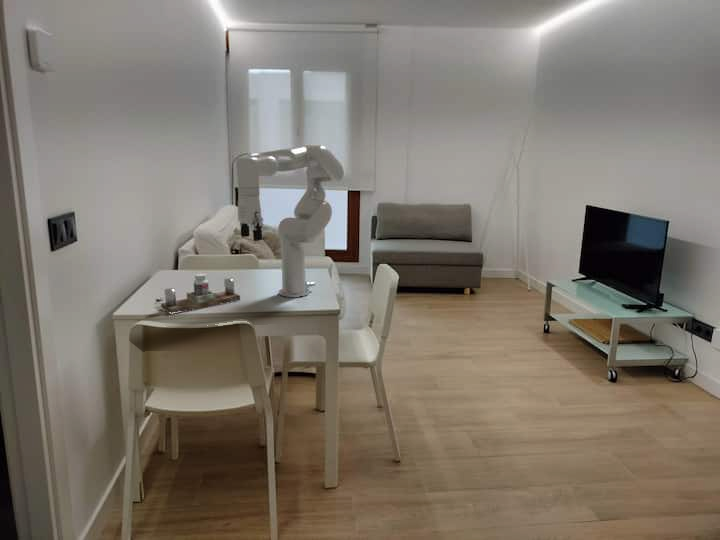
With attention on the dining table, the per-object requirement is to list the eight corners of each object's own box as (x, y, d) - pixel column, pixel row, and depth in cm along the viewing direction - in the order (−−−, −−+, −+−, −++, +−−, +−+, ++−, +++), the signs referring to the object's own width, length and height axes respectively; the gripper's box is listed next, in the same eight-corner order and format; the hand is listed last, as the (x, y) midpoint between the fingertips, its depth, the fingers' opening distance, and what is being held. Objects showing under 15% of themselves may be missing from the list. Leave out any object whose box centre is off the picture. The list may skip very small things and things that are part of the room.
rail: (229, 295, 218) (228, 284, 217) (240, 300, 211) (239, 289, 210) (161, 308, 200) (160, 297, 199) (171, 314, 193) (170, 302, 192)
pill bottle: (205, 301, 202) (203, 276, 200) (192, 300, 203) (190, 276, 201) (211, 297, 207) (210, 273, 205) (198, 297, 208) (197, 272, 206)
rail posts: (231, 292, 215) (231, 277, 214) (236, 294, 213) (235, 279, 211) (164, 305, 198) (163, 289, 196) (168, 307, 195) (167, 291, 194)
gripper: (228, 190, 196) (231, 236, 201) (250, 194, 183) (253, 243, 188) (247, 189, 201) (249, 234, 205) (269, 193, 188) (272, 240, 192)
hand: (251, 238), depth 196 cm, fingers open, 9 cm apart
